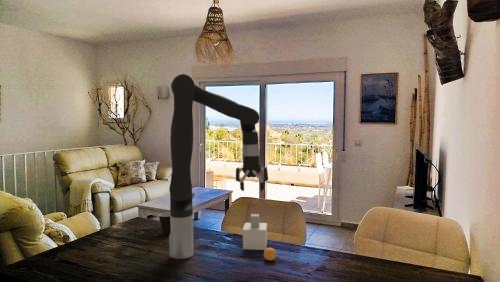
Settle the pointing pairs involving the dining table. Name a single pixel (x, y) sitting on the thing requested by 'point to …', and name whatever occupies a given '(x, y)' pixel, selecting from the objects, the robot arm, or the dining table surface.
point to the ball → (269, 254)
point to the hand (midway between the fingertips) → (252, 190)
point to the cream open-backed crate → (255, 234)
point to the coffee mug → (165, 223)
